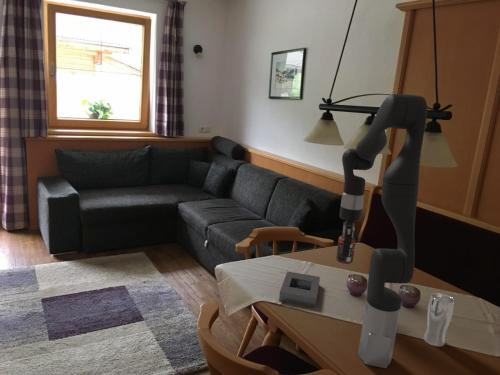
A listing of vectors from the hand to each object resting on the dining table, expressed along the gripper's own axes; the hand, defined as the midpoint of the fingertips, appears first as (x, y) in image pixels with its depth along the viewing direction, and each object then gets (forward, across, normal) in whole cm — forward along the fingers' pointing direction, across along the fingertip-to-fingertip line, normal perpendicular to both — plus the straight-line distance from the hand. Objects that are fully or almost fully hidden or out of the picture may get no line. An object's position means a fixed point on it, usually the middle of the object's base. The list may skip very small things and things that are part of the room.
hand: (345, 250), depth 147 cm
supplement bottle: (+4, 0, 0) cm, 4 cm away
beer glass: (+19, -17, -30) cm, 39 cm away
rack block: (+19, -1, +15) cm, 24 cm away
